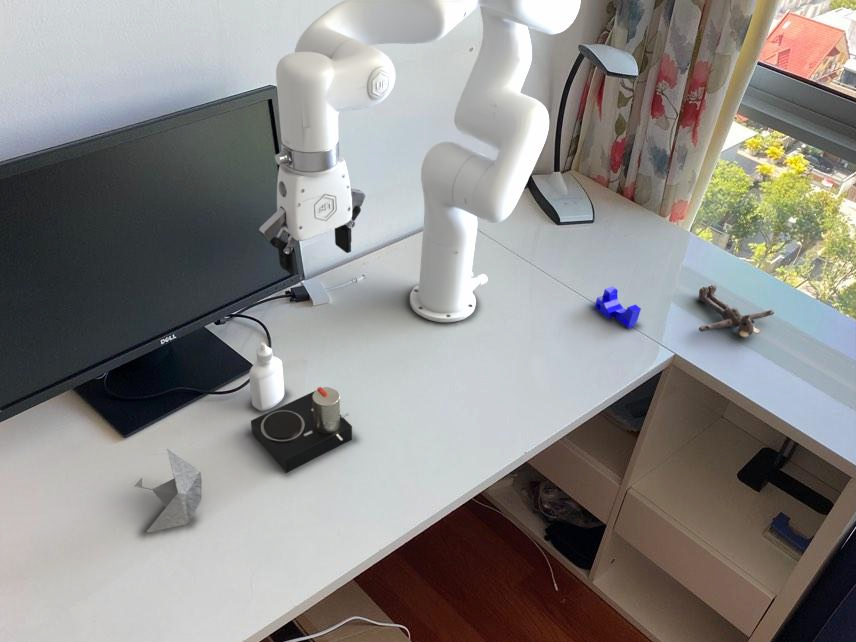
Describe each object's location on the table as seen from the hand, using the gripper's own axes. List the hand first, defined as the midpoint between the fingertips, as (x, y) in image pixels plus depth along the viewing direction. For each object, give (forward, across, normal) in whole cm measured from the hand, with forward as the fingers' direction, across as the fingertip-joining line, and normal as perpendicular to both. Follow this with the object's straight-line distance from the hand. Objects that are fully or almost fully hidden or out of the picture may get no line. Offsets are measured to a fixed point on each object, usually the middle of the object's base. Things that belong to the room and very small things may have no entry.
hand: (316, 259), depth 119 cm
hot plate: (+24, -11, -9) cm, 28 cm away
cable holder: (+26, +55, -18) cm, 64 cm away
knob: (+21, -8, -12) cm, 25 cm away
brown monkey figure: (+26, +73, -32) cm, 84 cm away
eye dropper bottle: (+24, -10, +1) cm, 26 cm away
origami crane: (+23, -33, -9) cm, 41 cm away
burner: (+21, -13, -8) cm, 26 cm away
